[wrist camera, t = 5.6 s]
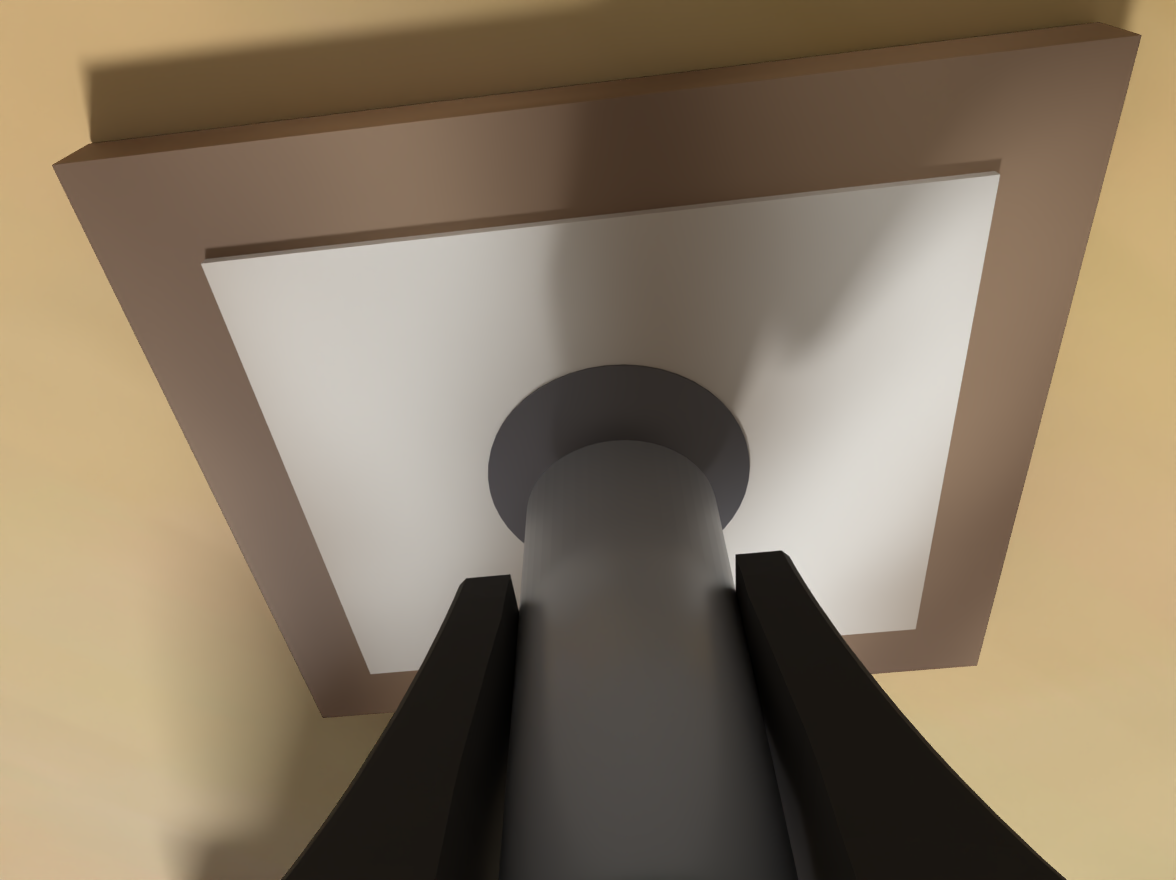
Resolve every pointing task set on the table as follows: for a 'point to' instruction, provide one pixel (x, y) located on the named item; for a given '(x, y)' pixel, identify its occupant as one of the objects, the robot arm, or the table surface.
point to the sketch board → (623, 324)
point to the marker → (635, 685)
